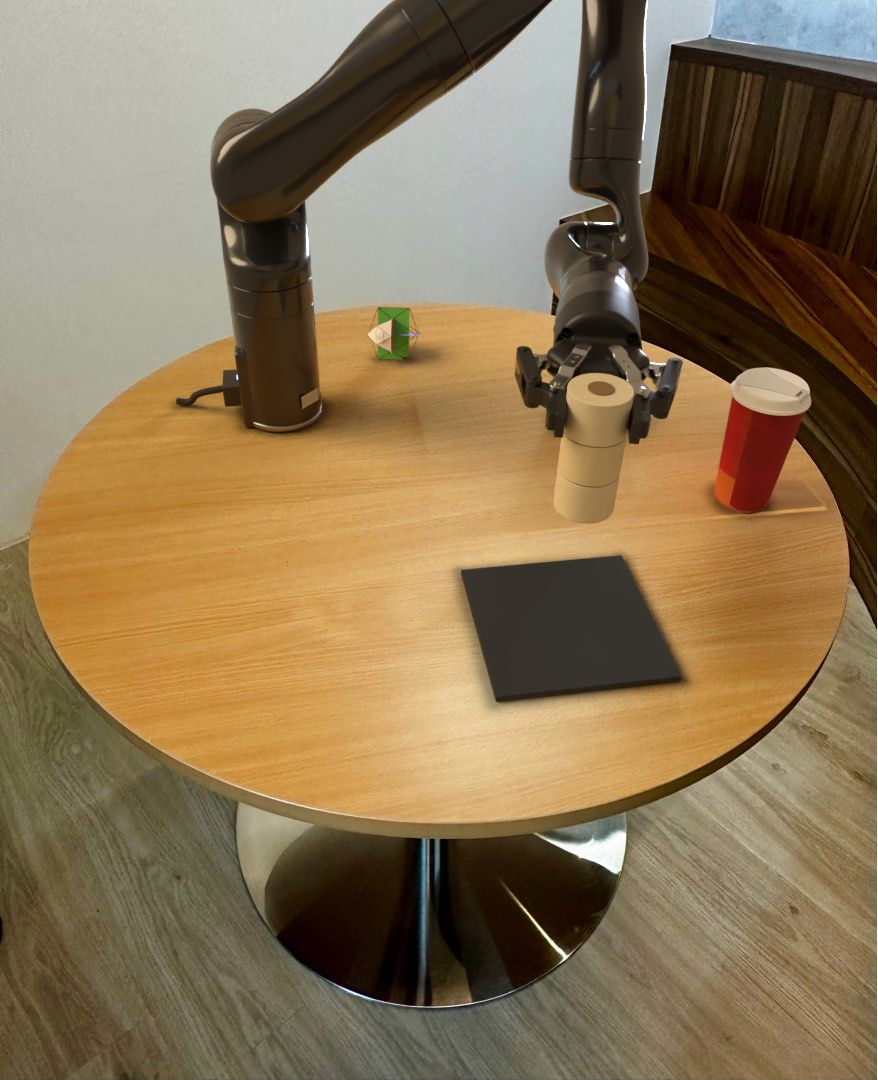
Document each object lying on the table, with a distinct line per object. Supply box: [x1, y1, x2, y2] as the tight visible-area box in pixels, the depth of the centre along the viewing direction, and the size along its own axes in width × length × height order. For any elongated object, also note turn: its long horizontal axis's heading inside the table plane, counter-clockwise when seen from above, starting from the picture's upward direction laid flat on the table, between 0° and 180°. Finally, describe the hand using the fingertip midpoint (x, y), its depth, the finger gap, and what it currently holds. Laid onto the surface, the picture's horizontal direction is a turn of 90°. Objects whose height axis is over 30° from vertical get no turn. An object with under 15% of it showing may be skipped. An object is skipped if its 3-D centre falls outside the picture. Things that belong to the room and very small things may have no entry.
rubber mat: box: [460, 554, 683, 702], centre depth 79 cm, size 16×16×1 cm
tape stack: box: [552, 373, 634, 525], centre depth 70 cm, size 5×5×11 cm
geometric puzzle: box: [365, 306, 421, 361], centre depth 117 cm, size 7×7×8 cm
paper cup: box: [714, 366, 812, 515], centre depth 91 cm, size 8×8×14 cm
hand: (598, 430), depth 66 cm, fingers closed on tape stack, 5 cm apart
